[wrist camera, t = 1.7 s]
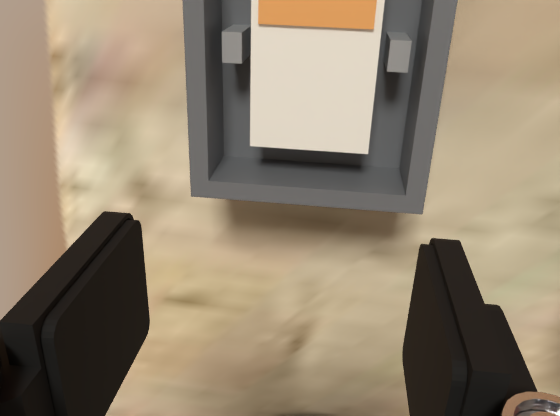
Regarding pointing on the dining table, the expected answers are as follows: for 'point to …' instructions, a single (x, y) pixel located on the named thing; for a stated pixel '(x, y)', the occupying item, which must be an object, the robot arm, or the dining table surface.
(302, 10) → the rocker
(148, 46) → the dining table surface
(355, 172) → the switch box
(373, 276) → the dining table surface
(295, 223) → the dining table surface
